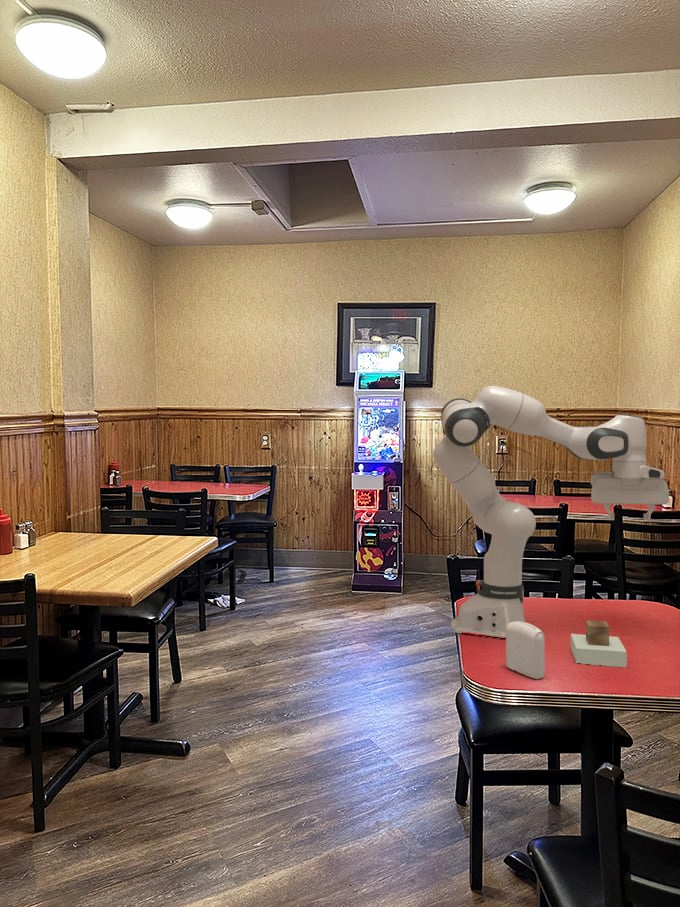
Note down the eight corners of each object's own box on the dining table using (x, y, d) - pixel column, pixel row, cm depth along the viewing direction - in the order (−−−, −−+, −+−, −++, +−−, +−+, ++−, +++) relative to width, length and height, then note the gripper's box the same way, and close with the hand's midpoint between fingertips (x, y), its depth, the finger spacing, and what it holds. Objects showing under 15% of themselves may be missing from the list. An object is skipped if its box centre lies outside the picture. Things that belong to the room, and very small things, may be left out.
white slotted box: (503, 668, 160) (503, 619, 159) (515, 664, 162) (515, 616, 162) (535, 681, 151) (535, 630, 151) (547, 677, 153) (547, 627, 153)
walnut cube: (588, 644, 165) (588, 625, 165) (585, 638, 170) (586, 620, 170) (609, 646, 164) (609, 626, 163) (605, 639, 168) (606, 621, 168)
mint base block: (576, 663, 162) (576, 648, 162) (570, 648, 174) (570, 633, 174) (626, 667, 159) (626, 651, 159) (617, 651, 171) (617, 636, 171)
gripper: (592, 471, 180) (591, 520, 181) (670, 472, 175) (670, 522, 176) (588, 470, 186) (588, 517, 187) (665, 470, 182) (664, 519, 182)
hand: (629, 519), depth 181 cm, fingers open, 8 cm apart
